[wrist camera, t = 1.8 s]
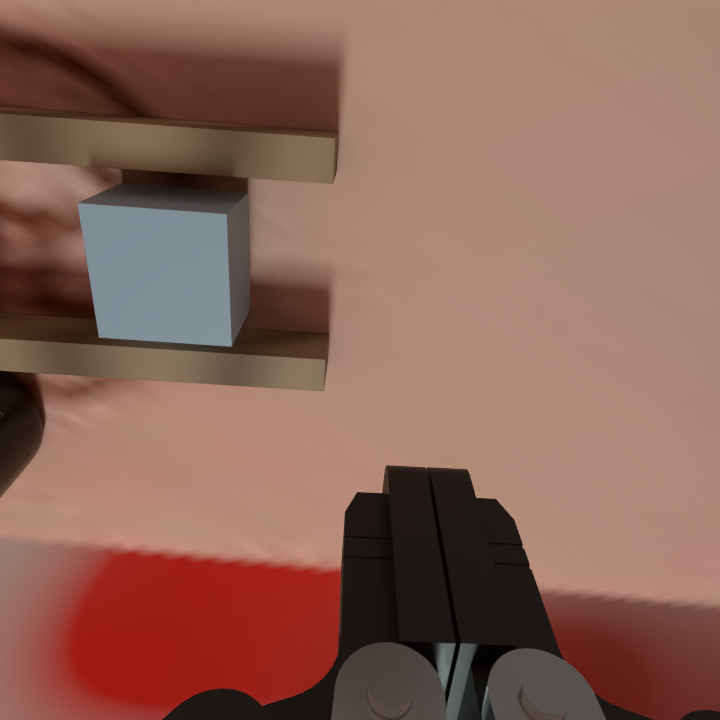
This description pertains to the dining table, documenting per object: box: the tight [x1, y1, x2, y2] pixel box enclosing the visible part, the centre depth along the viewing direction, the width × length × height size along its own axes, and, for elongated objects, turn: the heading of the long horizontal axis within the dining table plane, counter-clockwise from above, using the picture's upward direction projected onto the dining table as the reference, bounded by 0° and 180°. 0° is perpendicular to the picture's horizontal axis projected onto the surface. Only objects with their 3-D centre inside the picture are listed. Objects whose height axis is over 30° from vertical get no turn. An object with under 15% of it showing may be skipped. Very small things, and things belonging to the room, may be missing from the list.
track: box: [0, 106, 338, 391], centre depth 21 cm, size 20×10×4 cm, turn 86°
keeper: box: [78, 183, 251, 347], centre depth 22 cm, size 5×5×4 cm
